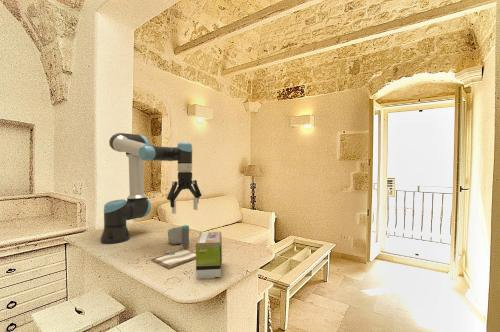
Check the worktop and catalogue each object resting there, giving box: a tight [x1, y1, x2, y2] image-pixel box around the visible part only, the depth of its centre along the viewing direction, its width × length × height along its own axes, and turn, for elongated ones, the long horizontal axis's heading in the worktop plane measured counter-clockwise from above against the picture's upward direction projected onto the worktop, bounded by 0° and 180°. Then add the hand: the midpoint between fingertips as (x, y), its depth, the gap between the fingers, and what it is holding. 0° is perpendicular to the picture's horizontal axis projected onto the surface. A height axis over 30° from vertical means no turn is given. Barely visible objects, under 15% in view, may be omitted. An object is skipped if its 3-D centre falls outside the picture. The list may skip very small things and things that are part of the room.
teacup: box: [167, 225, 183, 245], centre depth 140 cm, size 14×11×8 cm
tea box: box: [195, 231, 223, 280], centre depth 102 cm, size 15×10×15 cm
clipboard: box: [150, 247, 196, 270], centre depth 115 cm, size 16×19×1 cm
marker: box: [181, 224, 190, 249], centre depth 129 cm, size 3×3×12 cm
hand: (185, 211), depth 127 cm, fingers open, 13 cm apart
